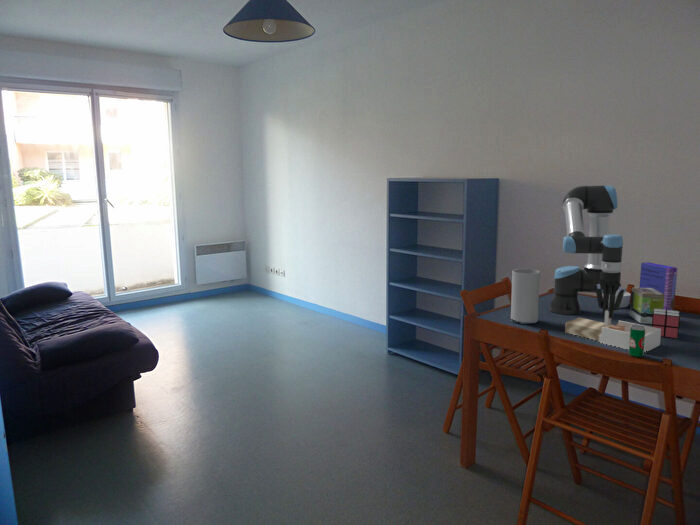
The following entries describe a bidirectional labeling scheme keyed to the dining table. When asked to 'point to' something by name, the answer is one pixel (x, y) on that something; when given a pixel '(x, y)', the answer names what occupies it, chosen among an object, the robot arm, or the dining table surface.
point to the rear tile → (619, 327)
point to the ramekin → (623, 299)
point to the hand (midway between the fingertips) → (607, 324)
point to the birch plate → (585, 328)
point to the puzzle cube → (666, 322)
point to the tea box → (645, 304)
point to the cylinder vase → (525, 295)
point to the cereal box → (660, 281)
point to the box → (623, 338)
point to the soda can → (637, 340)
